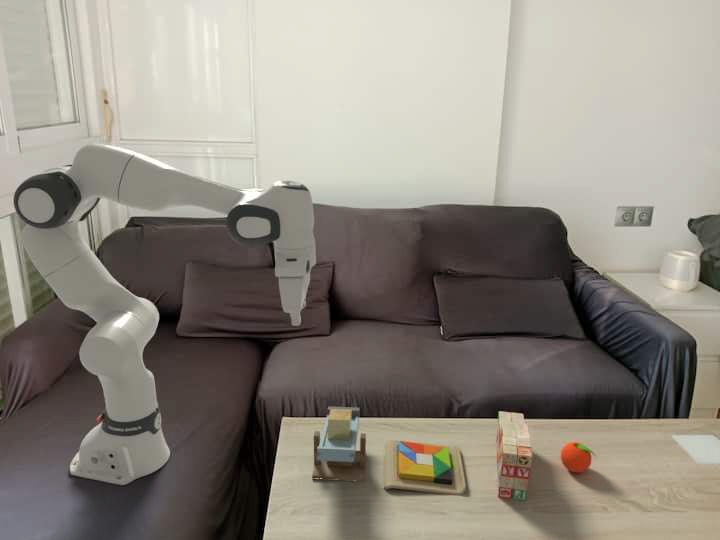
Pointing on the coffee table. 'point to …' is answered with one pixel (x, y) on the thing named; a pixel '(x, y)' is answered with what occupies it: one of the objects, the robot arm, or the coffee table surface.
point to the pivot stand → (340, 464)
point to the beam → (339, 448)
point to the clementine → (576, 457)
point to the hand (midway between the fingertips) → (299, 315)
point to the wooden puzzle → (423, 467)
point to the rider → (339, 424)
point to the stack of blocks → (513, 456)
